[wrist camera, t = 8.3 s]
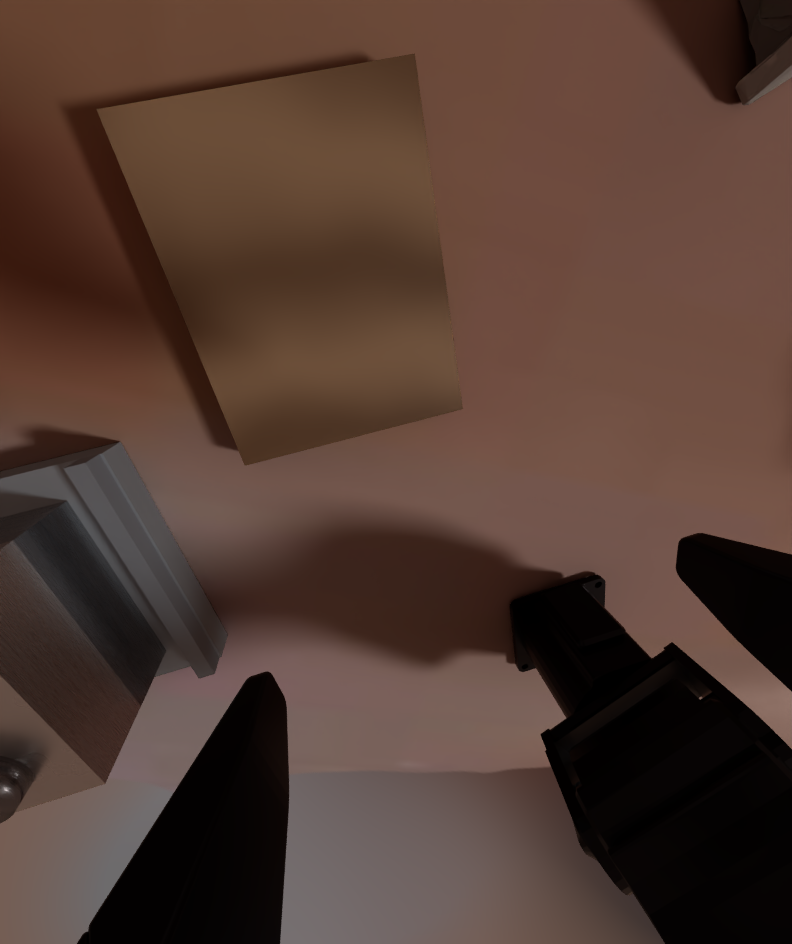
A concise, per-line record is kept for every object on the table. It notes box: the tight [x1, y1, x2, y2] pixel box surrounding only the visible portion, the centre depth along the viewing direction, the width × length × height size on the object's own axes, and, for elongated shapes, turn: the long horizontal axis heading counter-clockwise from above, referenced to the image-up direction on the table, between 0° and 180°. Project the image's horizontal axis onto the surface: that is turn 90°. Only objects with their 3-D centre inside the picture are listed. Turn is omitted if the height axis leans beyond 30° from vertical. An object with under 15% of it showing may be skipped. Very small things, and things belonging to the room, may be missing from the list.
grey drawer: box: [0, 501, 166, 823], centre depth 14 cm, size 6×9×7 cm, turn 12°
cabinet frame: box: [0, 442, 228, 678], centre depth 17 cm, size 12×10×2 cm
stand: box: [96, 54, 463, 465], centre depth 15 cm, size 12×10×2 cm
